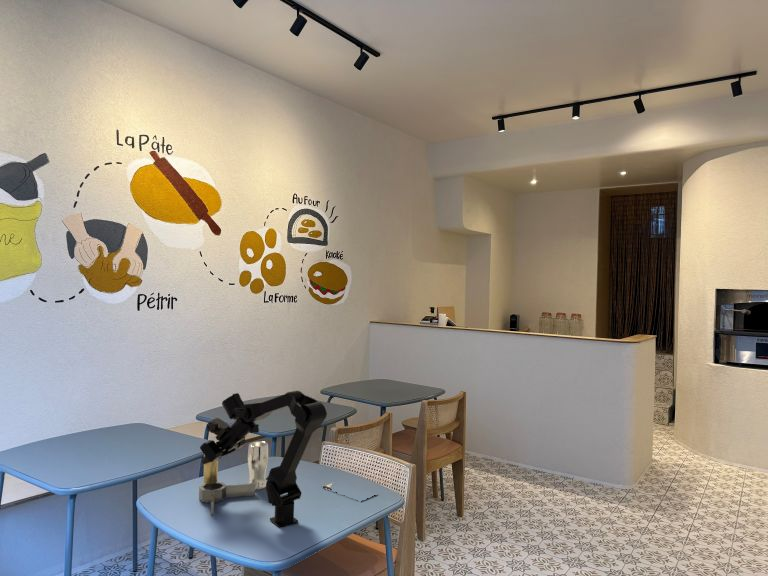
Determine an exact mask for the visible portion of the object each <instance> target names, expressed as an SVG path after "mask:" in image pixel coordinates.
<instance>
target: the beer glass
mask: <svg viewBox="0 0 768 576" xmlns="http://www.w3.org/2000/svg"><path fill="white" fill-rule="evenodd" d="M268 461H269V443H268V442H266V441H257V440H256V441H253V442H250V443H249V444H248V452H247V464H248V472H249V473H248V474H249V481H248V483H255V491H257V490H263V489H265V488H266V482H267V481H266V473H267V472H266V471H267V466H268Z"/></svg>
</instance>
